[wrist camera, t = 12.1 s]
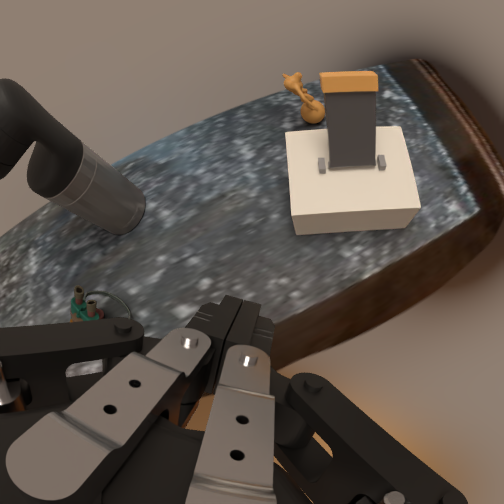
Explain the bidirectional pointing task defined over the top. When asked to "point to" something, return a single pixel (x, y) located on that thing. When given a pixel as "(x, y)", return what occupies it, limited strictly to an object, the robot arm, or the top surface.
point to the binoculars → (89, 306)
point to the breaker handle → (350, 117)
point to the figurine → (305, 99)
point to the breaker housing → (350, 185)
